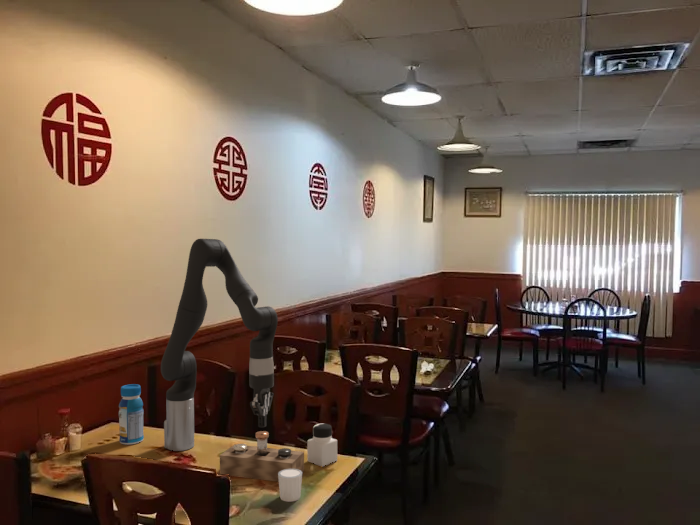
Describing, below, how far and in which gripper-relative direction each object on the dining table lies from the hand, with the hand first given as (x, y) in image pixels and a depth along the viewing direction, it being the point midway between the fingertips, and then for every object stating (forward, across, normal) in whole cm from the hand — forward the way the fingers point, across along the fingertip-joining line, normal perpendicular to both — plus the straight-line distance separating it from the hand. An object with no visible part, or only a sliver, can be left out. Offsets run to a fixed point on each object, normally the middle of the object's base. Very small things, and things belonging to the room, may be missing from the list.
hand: (262, 426), depth 184 cm
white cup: (+15, +14, +15) cm, 25 cm away
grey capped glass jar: (+14, 0, +7) cm, 16 cm away
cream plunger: (+14, 0, -8) cm, 16 cm away
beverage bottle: (+14, -13, -57) cm, 60 cm away
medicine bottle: (+15, -14, +15) cm, 25 cm away
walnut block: (+14, 0, 0) cm, 14 cm away
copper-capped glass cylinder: (+9, 0, 0) cm, 9 cm away
